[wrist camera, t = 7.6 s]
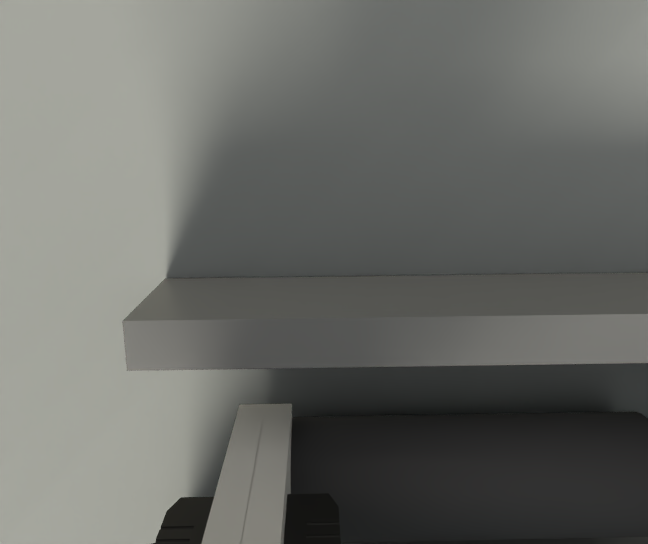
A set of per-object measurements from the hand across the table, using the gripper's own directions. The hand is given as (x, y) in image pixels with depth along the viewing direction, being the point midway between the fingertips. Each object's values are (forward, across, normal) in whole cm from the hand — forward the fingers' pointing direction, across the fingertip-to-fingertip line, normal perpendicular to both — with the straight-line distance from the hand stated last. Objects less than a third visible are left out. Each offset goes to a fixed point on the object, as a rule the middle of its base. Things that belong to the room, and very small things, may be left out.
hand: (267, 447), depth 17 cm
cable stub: (+1, +6, 0) cm, 6 cm away
